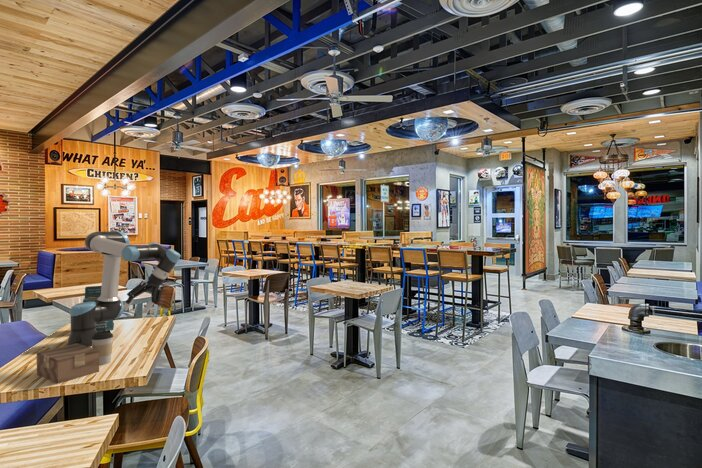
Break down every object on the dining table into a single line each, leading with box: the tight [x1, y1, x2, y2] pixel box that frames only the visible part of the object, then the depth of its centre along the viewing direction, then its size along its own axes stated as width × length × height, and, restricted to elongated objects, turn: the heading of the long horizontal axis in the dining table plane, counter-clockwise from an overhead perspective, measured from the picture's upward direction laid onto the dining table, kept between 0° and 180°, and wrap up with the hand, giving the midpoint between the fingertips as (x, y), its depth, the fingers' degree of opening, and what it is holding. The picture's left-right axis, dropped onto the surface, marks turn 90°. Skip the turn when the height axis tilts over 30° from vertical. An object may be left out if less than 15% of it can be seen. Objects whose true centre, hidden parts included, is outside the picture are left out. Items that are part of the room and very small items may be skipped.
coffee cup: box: [91, 331, 114, 366], centre depth 184 cm, size 9×9×15 cm
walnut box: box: [36, 344, 100, 384], centre depth 171 cm, size 20×16×10 cm
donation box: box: [82, 285, 115, 332], centre depth 246 cm, size 16×16×28 cm
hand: (135, 310), depth 200 cm, fingers open, 13 cm apart
